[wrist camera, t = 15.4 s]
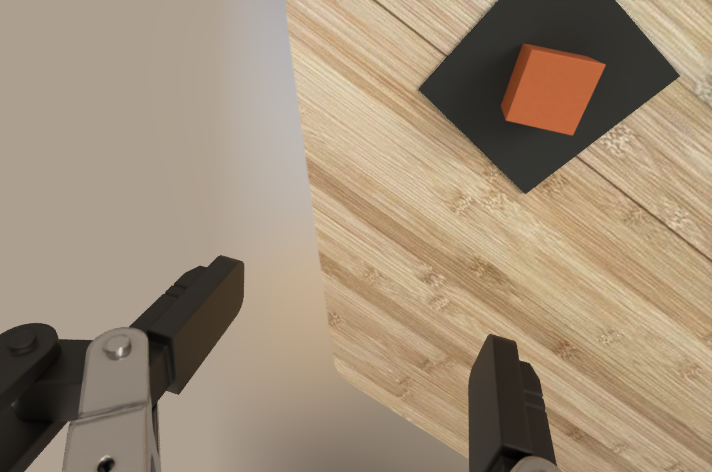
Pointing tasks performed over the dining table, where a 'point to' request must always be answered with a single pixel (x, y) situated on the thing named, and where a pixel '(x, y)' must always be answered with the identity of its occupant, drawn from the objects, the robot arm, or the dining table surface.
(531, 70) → the top block
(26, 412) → the robot arm
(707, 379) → the dining table surface
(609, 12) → the mat
